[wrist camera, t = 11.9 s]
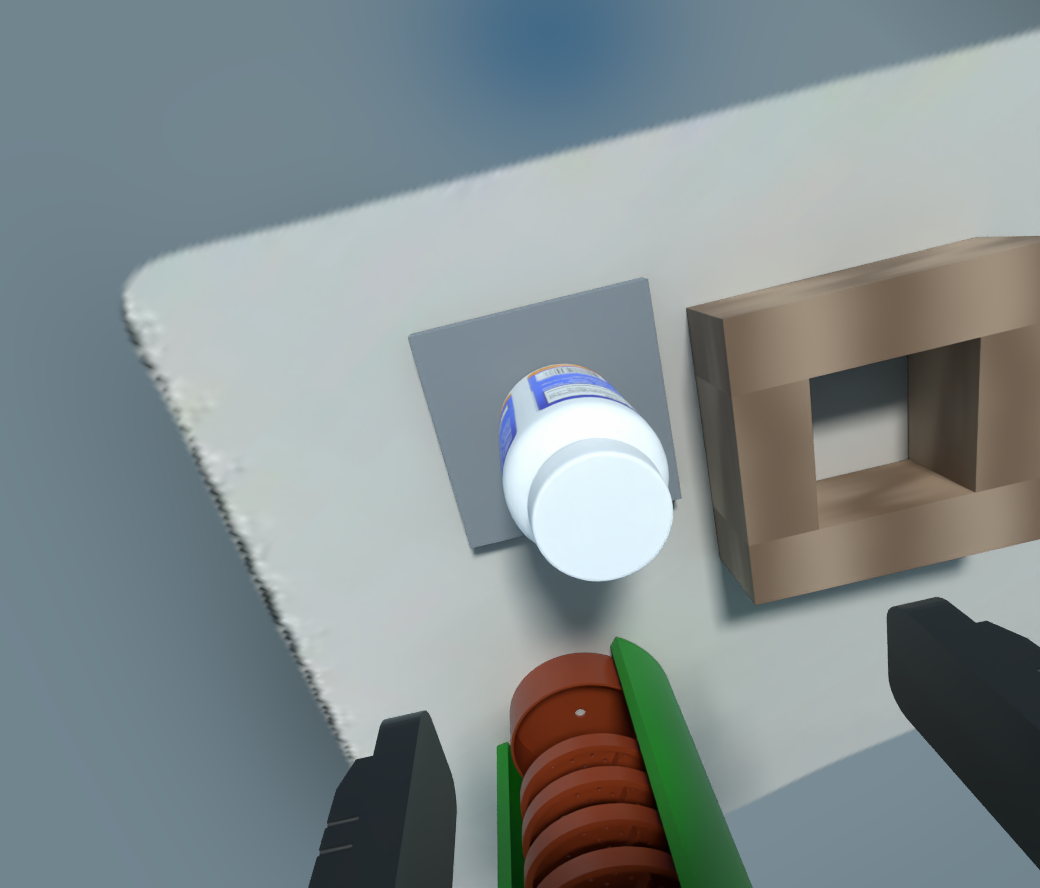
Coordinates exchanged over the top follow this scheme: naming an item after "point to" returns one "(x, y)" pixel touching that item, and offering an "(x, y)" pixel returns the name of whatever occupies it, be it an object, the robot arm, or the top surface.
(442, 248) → the top surface
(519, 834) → the green brown cylinder
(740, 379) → the socket block
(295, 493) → the top surface
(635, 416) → the pill bottle
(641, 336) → the mat
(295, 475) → the top surface
